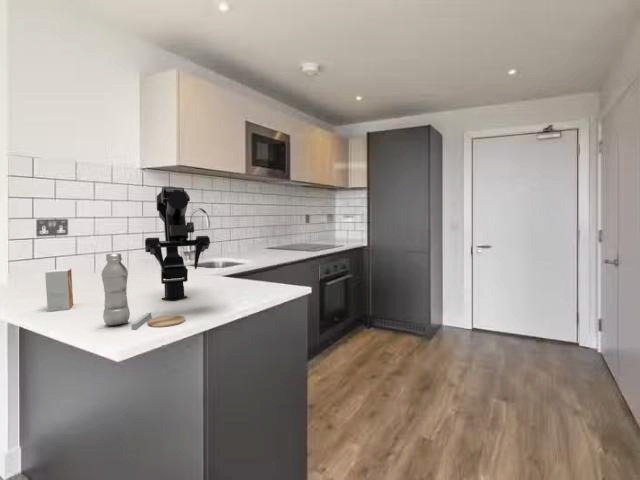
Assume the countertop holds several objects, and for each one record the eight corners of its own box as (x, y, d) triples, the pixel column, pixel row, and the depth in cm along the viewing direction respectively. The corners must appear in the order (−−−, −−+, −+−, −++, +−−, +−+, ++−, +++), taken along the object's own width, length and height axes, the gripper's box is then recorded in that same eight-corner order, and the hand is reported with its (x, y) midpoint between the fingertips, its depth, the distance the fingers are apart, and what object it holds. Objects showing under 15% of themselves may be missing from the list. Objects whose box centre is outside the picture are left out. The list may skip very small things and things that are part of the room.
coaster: (139, 324, 105) (139, 322, 105) (167, 316, 115) (167, 314, 114) (165, 328, 101) (165, 326, 101) (192, 319, 110) (192, 317, 110)
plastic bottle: (110, 321, 109) (106, 253, 108) (134, 320, 110) (130, 252, 109) (99, 328, 103) (94, 255, 102) (124, 327, 103) (120, 254, 102)
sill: (136, 329, 101) (136, 323, 101) (131, 329, 101) (131, 324, 101) (151, 317, 113) (151, 312, 113) (147, 317, 113) (147, 312, 113)
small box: (70, 309, 126) (67, 270, 125) (47, 311, 123) (44, 272, 122) (73, 304, 133) (71, 268, 132) (52, 306, 130) (49, 269, 129)
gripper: (143, 212, 109) (146, 263, 104) (209, 212, 117) (215, 259, 112) (144, 227, 119) (146, 275, 114) (205, 226, 127) (210, 270, 122)
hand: (180, 269), depth 115 cm, fingers open, 9 cm apart
